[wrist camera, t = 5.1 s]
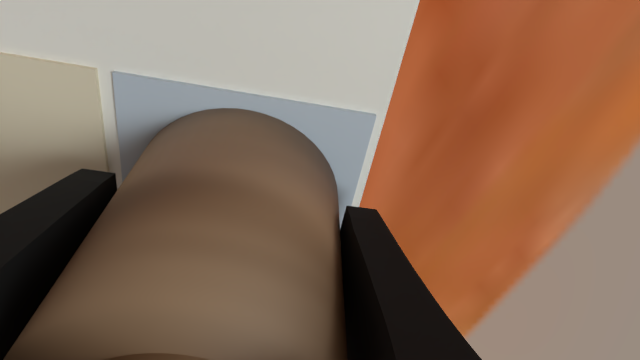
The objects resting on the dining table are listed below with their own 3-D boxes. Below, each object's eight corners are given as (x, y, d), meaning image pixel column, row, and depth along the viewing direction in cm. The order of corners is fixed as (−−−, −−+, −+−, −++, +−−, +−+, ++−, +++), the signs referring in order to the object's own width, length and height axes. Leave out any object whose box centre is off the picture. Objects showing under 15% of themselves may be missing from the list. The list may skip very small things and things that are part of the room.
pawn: (314, 282, 11) (310, 659, 6) (137, 254, 10) (-56, 641, 5) (361, 132, 9) (431, 543, 3) (135, 87, 8) (-243, 489, 3)
